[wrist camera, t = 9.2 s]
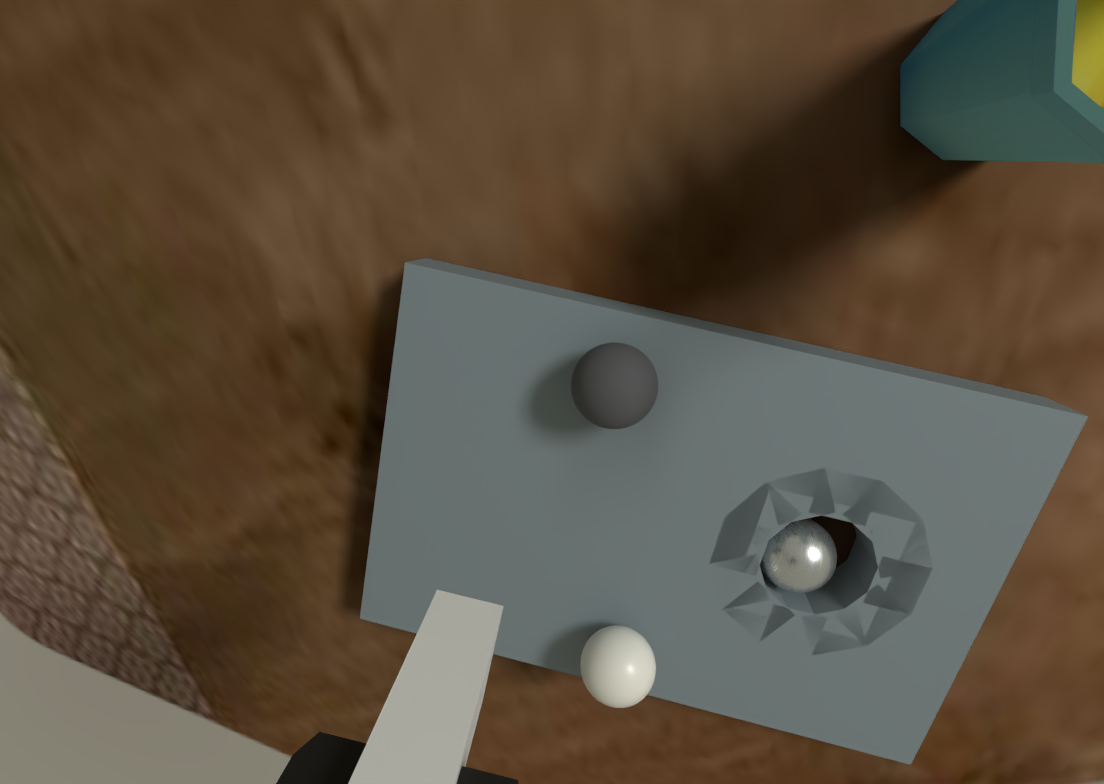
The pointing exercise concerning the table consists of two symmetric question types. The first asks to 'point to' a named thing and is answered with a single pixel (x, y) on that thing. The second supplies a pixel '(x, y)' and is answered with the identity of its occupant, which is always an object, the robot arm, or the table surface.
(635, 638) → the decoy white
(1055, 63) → the cup
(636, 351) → the matte dark gray ball
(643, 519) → the plate
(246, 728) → the table surface
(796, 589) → the steel ball
